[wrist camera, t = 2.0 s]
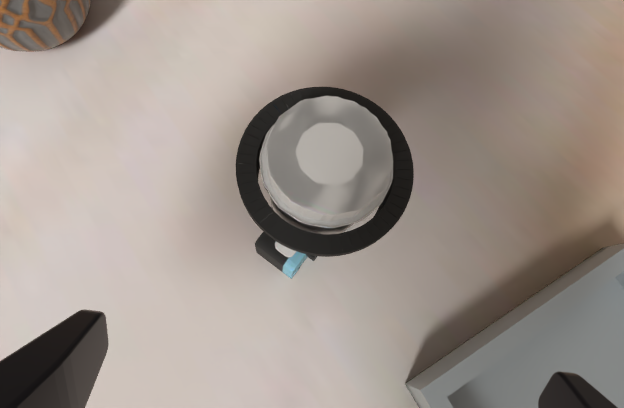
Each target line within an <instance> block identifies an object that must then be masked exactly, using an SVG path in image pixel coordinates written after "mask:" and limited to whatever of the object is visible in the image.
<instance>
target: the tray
mask: <svg viewBox="0 0 624 408" xmlns="http://www.w3.org/2000/svg"><path fill="white" fill-rule="evenodd" d="M558 371H561V372H569V373H575V374H578V375H580V376H581V377H582V378H584V379H585V380H586V381H587V382H588V383H589V384H591V385H592V386H593V387H594V388H595V389H597V390H598V391H599V392H600V393H601V394H602V395H604V396H605V397H606V398H607V399H608V400H610V401H611V402H612V403H613V404H614V405H615V406H617V407H618V408H624V243H621V244H617V245H613V246H609V247H605V248H602V249H601V250H599V251H598V252H596V253H595V254H593V255H592V256H590V257H589V258H587V259H586V260H585V261H583V262H582V263H580V264H579V265H577V266H576V267H574V268H573V269H571V270H570V271H569V272H567V273H566V274H564V275H563V276H561V277H560V278H558V279H557V280H555V281H554V282H553V283H551V284H550V285H548V286H547V287H545V288H544V289H542V290H541V291H539V292H538V293H537V294H535V295H534V296H532V297H531V298H529V299H528V300H526V301H525V302H523V303H522V304H521V305H519V306H518V307H516V308H515V309H513V310H512V311H510V312H509V313H507V314H506V315H505V316H503V317H502V318H500V319H499V320H497V321H496V322H494V323H493V324H491V325H490V326H489V327H487V328H486V329H484V330H483V331H481V332H480V333H478V334H477V335H475V336H474V337H473V338H471V339H470V340H468V341H467V342H465V343H464V344H462V345H461V346H459V347H458V348H457V349H455V350H454V351H452V352H451V353H449V354H448V355H446V356H445V357H443V358H442V359H441V360H439V361H438V362H436V363H435V364H433V365H432V366H430V367H429V368H427V369H426V370H425V371H423V372H422V373H420V374H419V375H417V376H416V377H414V378H413V379H411V380H410V381H409V382H407V383H406V384H405V385H406V386H407V388H408V390H409V391H410V393H411V395H412V396H413V398H414V400H415V401H416V403H417V405H418V406H419V408H538V400H539V396H540V394H541V393H542V391H543V389H544V388H545V386H546V385H547V383H548V381H549V380H550V378H551V376H552V375H553V374H554V373H555V372H558Z"/></svg>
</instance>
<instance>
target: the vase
mask: <svg viewBox="0 0 624 408" xmlns="http://www.w3.org/2000/svg"><path fill="white" fill-rule="evenodd" d="M90 3H91V0H0V47H1V48H4V49H8V50H14V51H26V52H33V51H42V50H47V49H50V48H53V47H56V46H58V45H60V44H62V43H64V42H65V41H67V40H68V39H70V38H71V37H72V36H73V35H75V34H76V33H77V31H78V30H79V29H80V28H81V26H82V25H83V23H84V21H85V19H86V17H87V15H88V12H89V9H90Z"/></svg>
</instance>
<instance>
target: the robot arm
mask: <svg viewBox="0 0 624 408" xmlns="http://www.w3.org/2000/svg"><path fill="white" fill-rule="evenodd" d="M107 349H108V334H107V324H106V317H105V314H104V313H103V312H100V311H93V310H81V311H78V312H77V313H75V314H73V315H72V316H70V317H69V318H67V319H66V320H64V321H62V322H61V323H59V324H58V325H56V326H55V327H53V328H51V329H50V330H48V331H47V332H45V333H44V334H42V335H40V336H39V337H37V338H36V339H34V340H33V341H31V342H29V343H28V344H26V345H25V346H23V347H22V348H20V349H19V350H17V351H15V352H14V353H12V354H11V355H9V356H8V357H6V358H4V359H3V360H1V361H0V408H85V406H86V404H87V401H88V399H89V396H90V394H91V391H92V389H93V386H94V383H95V381H96V378H97V376H98V373H99V371H100V368H101V366H102V363H103V361H104V358H105V356H106V353H107ZM538 408H618V407H617V406H615V405H614V404H613V403H612V402H611V401H610V400H608V399H607V398H606V397H605V396H604V395H602V394H601V393H600V392H599V391H598V390H597V389H595V388H594V387H593V386H592V385H591V384H589V383H588V382H587V381H586V380H585V379H584V378H582V377H581V376H580V375H578V374H575V373H569V372H561V371H558V372H555V373H554V374H553V375H552V376H551V378H550V380H549V381H548V383H547V385H546V386H545V388H544V389H543V391H542V393H541V394H540V396H539V400H538Z"/></svg>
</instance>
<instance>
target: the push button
mask: <svg viewBox="0 0 624 408" xmlns="http://www.w3.org/2000/svg"><path fill="white" fill-rule="evenodd" d="M259 169H261V176H262V181H263V184H264V187H265V188H266V190H267V191H268V193H269V194H270V198H271V203H272V208H271V207H270V206H269V204H268V203H267V201H266V200H265V198H264V196H263V194H262V192H261V190H260V187H259V184H258V174H259ZM236 177H237V183H238V187H239V191H240V195H241V198H242V200H243V203H244V205H245V207H246V209H247V211H248V213H249V214H250V216H251V217H252V219H253V220H254V222H255V223H256V224H257V225H258V226H259V227H260V228H261V229H262V230H263V231H264V232H263V233H262V234H261V235H260V237H259V238H258V239H257V241H256V243H255V247H256V251H257V253H258V254H260V255H261V256H262V257H263V258H265V259H266V260H267V261H269V262H270V263H271V264H273V265H274V266H275V267H277V268H278V269H279V270H281V271H282V272H283V273H284V274H286V275H287V276H288V277H290V278H291V279H292V277H293V276H294V275H295V274H296V272H297V271H298V270H299V268H300V266H301V264H302V263H303V262H304V260H305V259H306V258H307V256H308V257H309V258H310V259H312V260H313V261H314V260H315V259H316V257H317V256H340V255H345V254H350V253H353V252H356V251H359V250H361V249H364V248H366V247H368V246H370V245H371V244H373V243H375V242H376V241H377V240H379V239H380V238H381V237H383V236H384V235H385V234H386V233H387V232H388V231H389V230H390V229H391V228H392V227H393V226H394V225H395V224H396V223H397V221H398V220H399V219H400V217H401V216H402V214H403V212H404V210H405V208H406V206H407V204H408V201H409V199H410V195H411V191H412V186H413V162H412V157H411V152H410V149H409V146H408V144H407V141H406V139H405V137H404V135H403V133H402V132H401V130H400V128H399V127H398V126H397V124H396V123H395V122H394V120H393V119H392V118H391V117H390V116H389V115H388V114H387V113H386V112H385V111H384V110H383V109H382V108H380V107H379V106H378V105H376V104H375V103H373V102H372V101H370V100H369V99H367V98H365V97H363V96H361V95H359V94H356V93H353V92H351V91H347V90H344V89H339V88H332V87H310V88H304V89H299V90H296V91H292V92H289V93H287V94H285V95H282V96H280V97H279V98H277V99H275V100H273V101H272V102H270V103H269V104H267V105H266V106H265V107H264V108H263V109H262V110H260V111H259V113H258V114H257V115H256V116H255V117H254V118H253V119H252V121H251V122H250V123H249V125H248V127H247V128H246V130H245V132H244V134H243V136H242V138H241V141H240V144H239V147H238V152H237V158H236ZM378 207H379V208H378ZM377 208H378V210H377V212H376V214H375V216H374V217H373V218H372V219H371V220H370V221H369V222H367V223H366V224H364V225H362V226H360V227H358V228H356V229H354V230H351V231H348V232H344V233H342V232H343V231H345V230H346V229H347V228H349V227H350V226H351V225H353V224H354V223H357V222H359V221H361V220H363V219H364V218H365V217H366V216H368V215H369V214H370V213H371V212H373V211H374V210H375V209H377Z"/></svg>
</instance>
